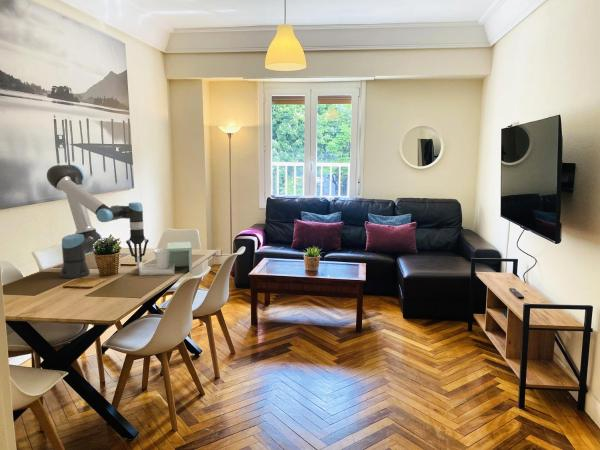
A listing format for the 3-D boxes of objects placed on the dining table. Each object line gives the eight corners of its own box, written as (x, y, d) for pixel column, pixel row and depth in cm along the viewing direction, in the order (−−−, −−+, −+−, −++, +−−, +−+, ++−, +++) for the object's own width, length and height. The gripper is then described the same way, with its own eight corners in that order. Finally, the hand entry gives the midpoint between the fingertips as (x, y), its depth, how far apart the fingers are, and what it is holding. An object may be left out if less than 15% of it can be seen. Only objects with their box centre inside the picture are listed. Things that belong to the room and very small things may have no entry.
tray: (139, 275, 258) (139, 267, 257) (141, 268, 273) (140, 260, 273) (174, 273, 264) (174, 265, 263) (174, 266, 279) (174, 259, 278)
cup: (173, 266, 277) (173, 249, 275) (167, 270, 267) (166, 252, 265) (158, 265, 278) (158, 248, 276) (151, 269, 268) (151, 251, 266)
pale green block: (168, 274, 262) (167, 248, 260) (168, 266, 280) (167, 242, 278) (192, 273, 266) (191, 247, 264) (190, 265, 284) (190, 241, 282)
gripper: (124, 230, 256) (126, 269, 260) (148, 229, 260) (149, 268, 263) (125, 228, 263) (127, 266, 267) (148, 227, 267) (150, 265, 270)
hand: (138, 267), depth 265 cm, fingers closed
